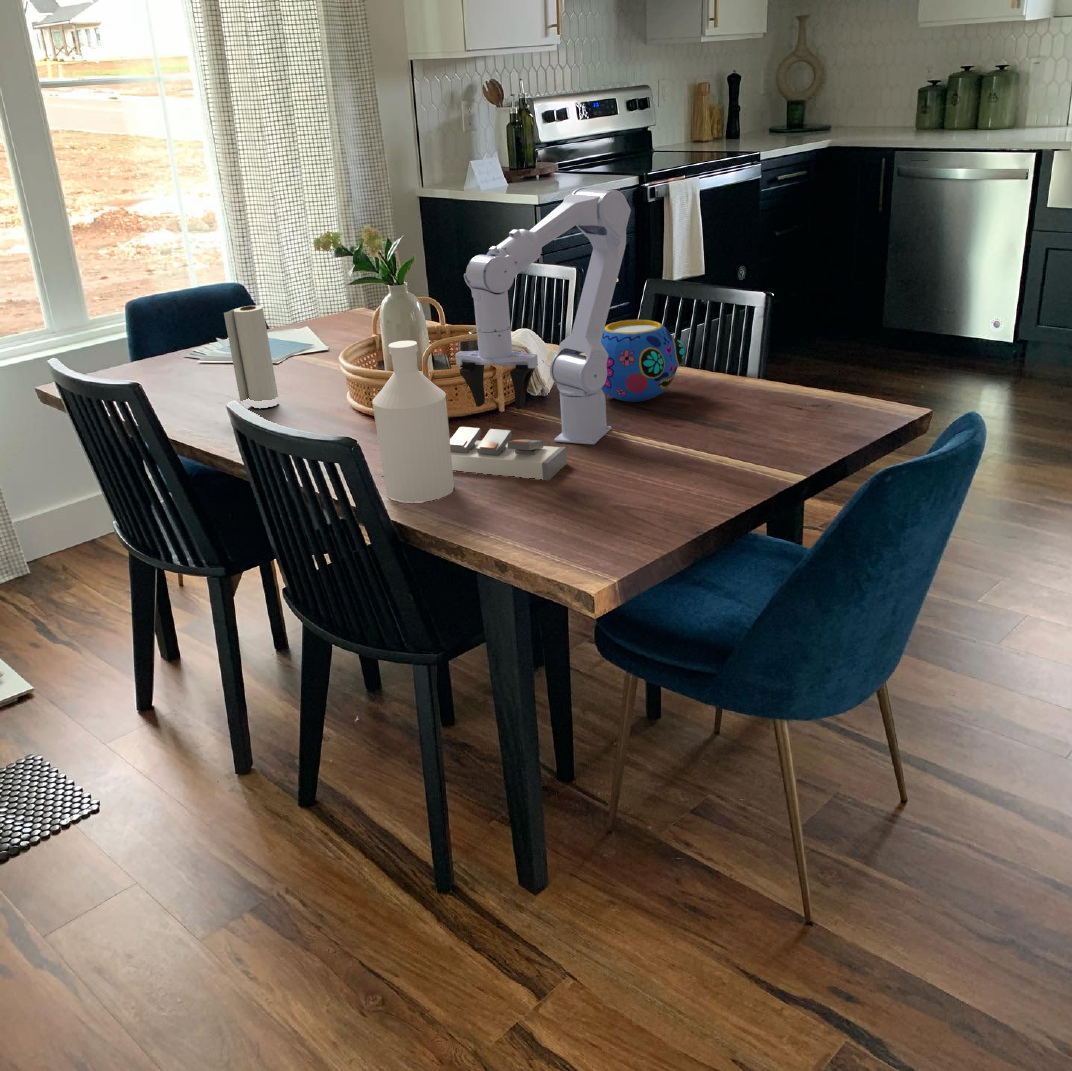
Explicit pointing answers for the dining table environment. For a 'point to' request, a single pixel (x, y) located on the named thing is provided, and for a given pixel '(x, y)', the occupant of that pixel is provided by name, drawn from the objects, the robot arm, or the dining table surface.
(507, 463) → the power strip
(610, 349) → the ceramic pot
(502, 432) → the rocker
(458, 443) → the block
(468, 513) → the dining table surface
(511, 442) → the rocker
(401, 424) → the bottle
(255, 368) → the paper towel roll
